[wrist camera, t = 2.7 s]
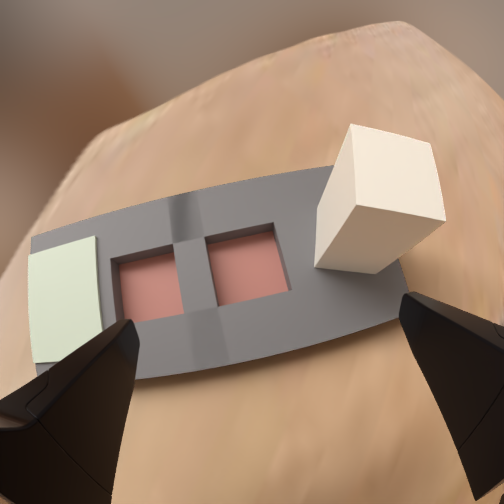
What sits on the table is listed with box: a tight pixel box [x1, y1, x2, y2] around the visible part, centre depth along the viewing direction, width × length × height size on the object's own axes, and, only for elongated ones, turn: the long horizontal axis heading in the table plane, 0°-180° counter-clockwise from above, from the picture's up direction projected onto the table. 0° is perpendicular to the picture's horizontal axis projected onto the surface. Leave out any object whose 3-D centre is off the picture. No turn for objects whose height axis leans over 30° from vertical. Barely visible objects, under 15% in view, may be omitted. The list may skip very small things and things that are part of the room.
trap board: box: [28, 165, 409, 379], centre depth 23 cm, size 32×14×2 cm, turn 103°
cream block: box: [314, 124, 446, 274], centre depth 18 cm, size 5×5×10 cm
